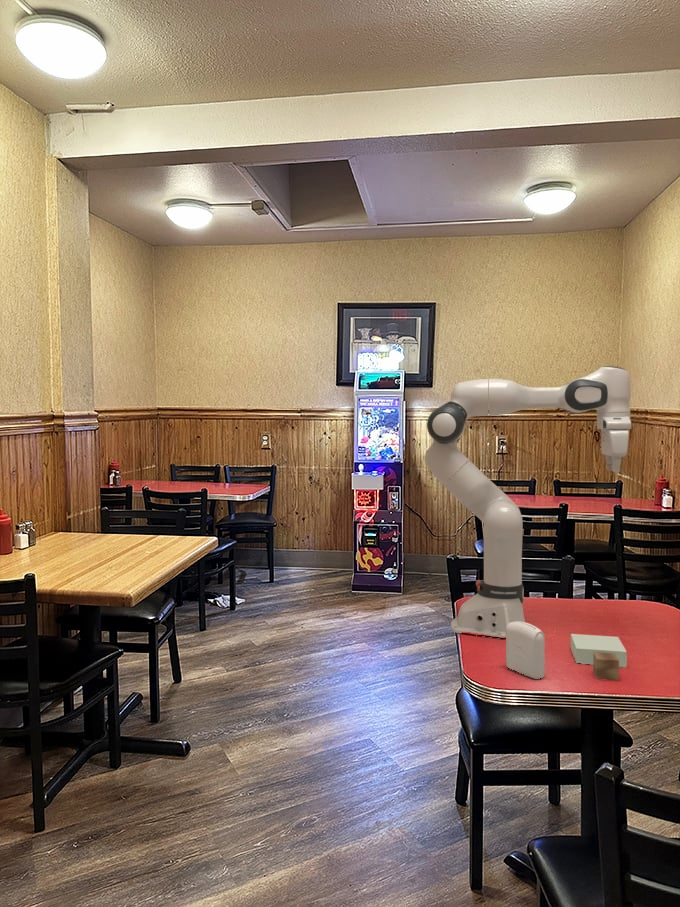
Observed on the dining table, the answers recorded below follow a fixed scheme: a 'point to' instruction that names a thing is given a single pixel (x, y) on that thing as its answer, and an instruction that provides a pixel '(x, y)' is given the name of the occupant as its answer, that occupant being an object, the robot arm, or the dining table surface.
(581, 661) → the mint base block
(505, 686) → the dining table surface
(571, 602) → the dining table surface
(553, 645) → the dining table surface
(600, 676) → the walnut cube
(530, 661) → the white slotted box
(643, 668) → the dining table surface
